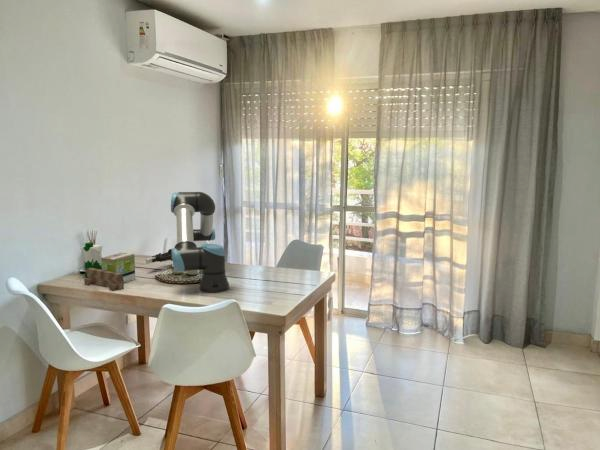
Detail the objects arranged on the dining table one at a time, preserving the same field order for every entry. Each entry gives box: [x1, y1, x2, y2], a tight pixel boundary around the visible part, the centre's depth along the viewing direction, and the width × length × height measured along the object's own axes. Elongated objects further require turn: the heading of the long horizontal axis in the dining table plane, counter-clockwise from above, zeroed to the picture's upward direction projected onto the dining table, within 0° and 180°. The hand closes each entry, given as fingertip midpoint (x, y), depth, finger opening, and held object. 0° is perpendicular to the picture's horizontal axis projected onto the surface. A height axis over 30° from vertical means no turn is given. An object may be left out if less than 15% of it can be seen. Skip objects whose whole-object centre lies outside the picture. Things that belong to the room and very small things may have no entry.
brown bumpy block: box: [83, 268, 125, 292], centre depth 250 cm, size 26×5×8 cm, turn 60°
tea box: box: [102, 252, 136, 284], centre depth 259 cm, size 15×10×15 cm
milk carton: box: [81, 242, 103, 279], centre depth 269 cm, size 9×9×20 cm
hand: (146, 261), depth 276 cm, fingers closed
